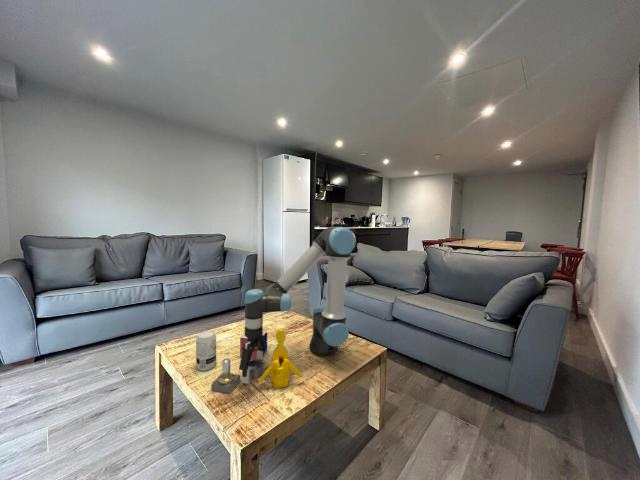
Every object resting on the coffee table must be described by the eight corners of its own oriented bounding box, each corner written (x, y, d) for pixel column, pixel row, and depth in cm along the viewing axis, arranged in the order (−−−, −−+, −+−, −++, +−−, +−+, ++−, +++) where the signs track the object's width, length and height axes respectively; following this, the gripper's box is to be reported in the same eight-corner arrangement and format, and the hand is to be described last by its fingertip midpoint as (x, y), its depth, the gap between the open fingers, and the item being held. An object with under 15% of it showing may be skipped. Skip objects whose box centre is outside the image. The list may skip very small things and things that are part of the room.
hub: (265, 369, 113) (265, 359, 113) (258, 380, 106) (258, 369, 105) (249, 366, 115) (249, 357, 115) (240, 377, 107) (240, 367, 107)
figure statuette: (258, 392, 98) (258, 338, 96) (258, 380, 106) (258, 329, 104) (303, 386, 102) (304, 334, 101) (300, 375, 110) (301, 326, 108)
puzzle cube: (258, 360, 120) (259, 340, 120) (239, 357, 122) (239, 338, 122) (267, 350, 130) (267, 331, 129) (249, 347, 132) (249, 329, 131)
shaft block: (240, 380, 105) (240, 356, 104) (230, 393, 97) (229, 367, 96) (222, 378, 106) (222, 354, 106) (211, 390, 99) (211, 364, 98)
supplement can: (196, 363, 117) (196, 331, 116) (216, 359, 120) (216, 329, 119) (195, 373, 109) (195, 339, 108) (216, 369, 113) (216, 336, 111)
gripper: (258, 314, 121) (257, 357, 123) (230, 337, 97) (229, 390, 99) (272, 316, 120) (272, 359, 122) (248, 340, 96) (247, 393, 97)
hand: (253, 373), depth 110 cm, fingers open, 13 cm apart
